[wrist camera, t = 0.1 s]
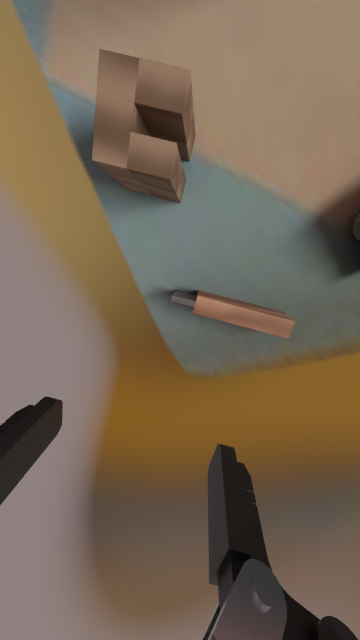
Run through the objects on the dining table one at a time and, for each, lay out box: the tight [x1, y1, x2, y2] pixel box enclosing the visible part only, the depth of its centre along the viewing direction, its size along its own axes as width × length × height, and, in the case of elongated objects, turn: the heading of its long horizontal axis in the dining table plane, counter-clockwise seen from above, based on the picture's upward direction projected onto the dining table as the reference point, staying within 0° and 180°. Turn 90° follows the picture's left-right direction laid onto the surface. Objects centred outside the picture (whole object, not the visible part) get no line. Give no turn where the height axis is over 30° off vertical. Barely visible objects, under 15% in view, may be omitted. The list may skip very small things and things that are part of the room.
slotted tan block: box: [92, 49, 195, 203], centre depth 26 cm, size 9×9×11 cm
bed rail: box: [171, 290, 296, 338], centre depth 34 cm, size 3×20×5 cm, turn 76°
